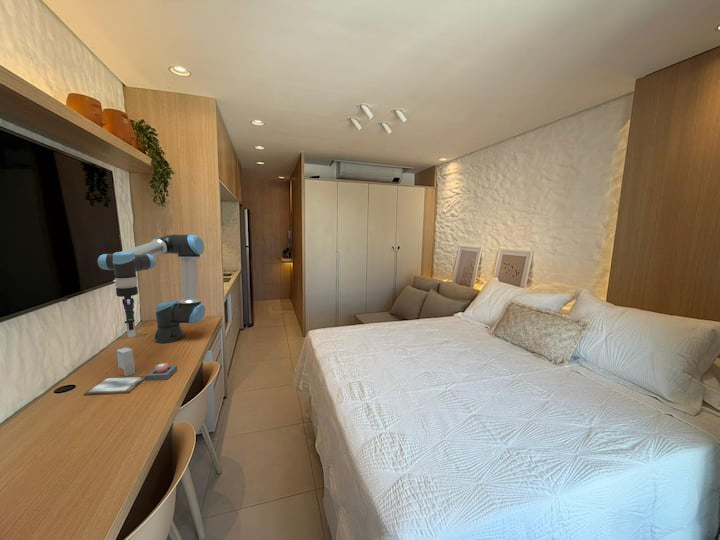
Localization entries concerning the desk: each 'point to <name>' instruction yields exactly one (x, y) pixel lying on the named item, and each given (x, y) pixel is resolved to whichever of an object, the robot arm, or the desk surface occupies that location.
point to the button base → (161, 374)
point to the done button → (161, 368)
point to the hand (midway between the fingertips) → (131, 332)
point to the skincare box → (125, 361)
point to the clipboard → (116, 385)
